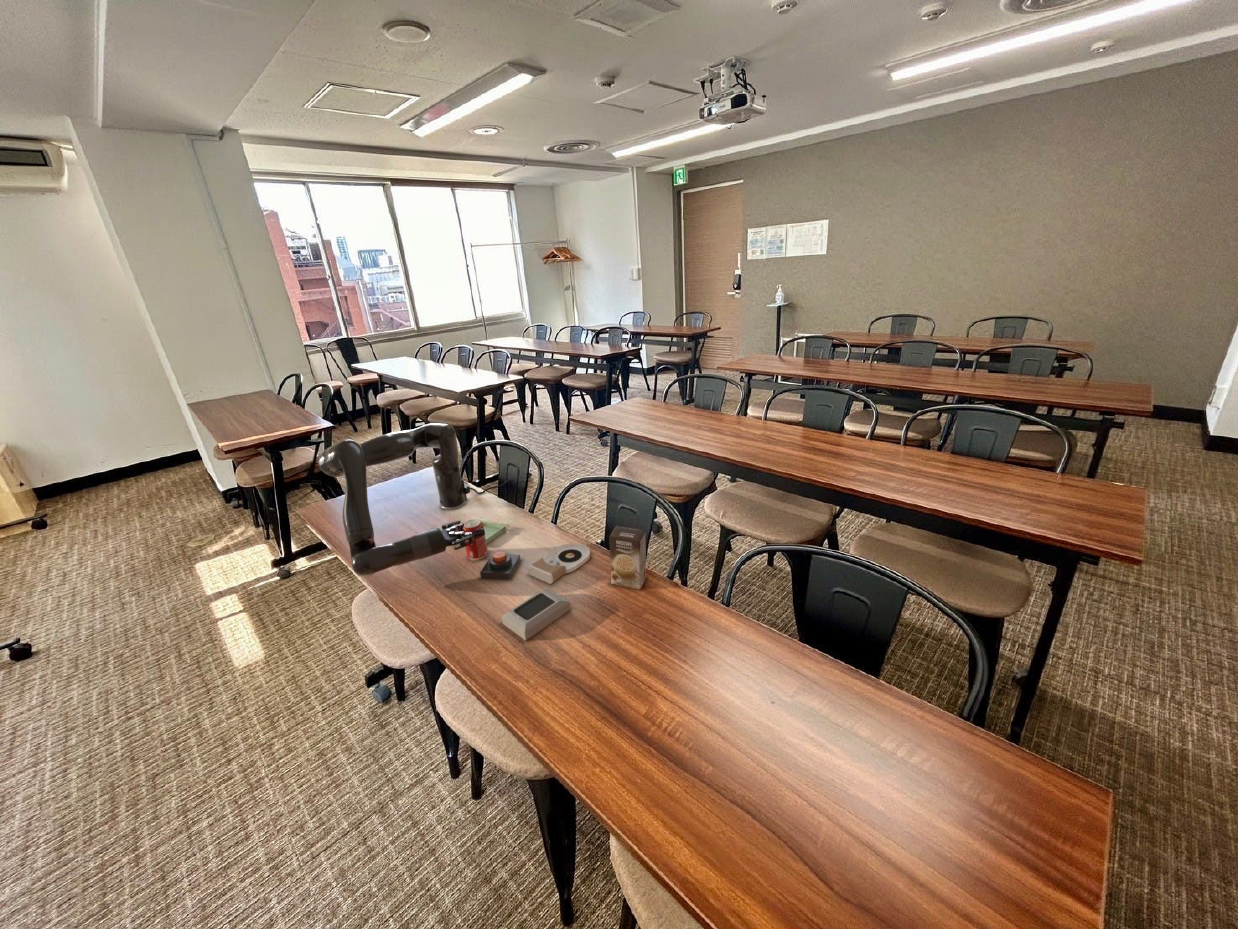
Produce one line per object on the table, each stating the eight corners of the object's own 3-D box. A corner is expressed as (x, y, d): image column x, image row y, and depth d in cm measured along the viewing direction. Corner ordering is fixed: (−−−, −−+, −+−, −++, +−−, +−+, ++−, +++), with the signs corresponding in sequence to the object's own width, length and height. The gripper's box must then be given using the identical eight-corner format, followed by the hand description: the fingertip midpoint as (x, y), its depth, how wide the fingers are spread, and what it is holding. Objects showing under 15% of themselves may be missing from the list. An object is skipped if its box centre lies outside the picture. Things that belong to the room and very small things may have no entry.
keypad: (569, 598, 127) (523, 629, 117) (570, 609, 128) (525, 640, 118) (545, 584, 133) (500, 612, 123) (547, 595, 134) (502, 623, 124)
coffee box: (610, 584, 138) (607, 536, 131) (617, 571, 143) (615, 524, 137) (641, 589, 135) (639, 540, 129) (647, 576, 140) (646, 529, 134)
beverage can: (470, 551, 157) (464, 519, 152) (489, 549, 157) (484, 517, 153) (465, 562, 151) (459, 529, 147) (486, 560, 152) (480, 527, 147)
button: (496, 556, 147) (495, 551, 147) (507, 556, 147) (506, 551, 146) (492, 562, 144) (491, 557, 143) (503, 563, 144) (502, 558, 143)
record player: (525, 564, 143) (569, 535, 158) (526, 573, 144) (569, 543, 159) (553, 577, 137) (597, 545, 152) (554, 586, 138) (597, 554, 153)
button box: (493, 559, 152) (491, 548, 150) (520, 560, 151) (519, 549, 149) (481, 578, 143) (479, 567, 141) (510, 579, 142) (508, 568, 140)
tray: (477, 522, 175) (477, 518, 174) (506, 530, 169) (505, 526, 168) (450, 540, 164) (450, 536, 163) (480, 548, 158) (479, 544, 158)
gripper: (430, 543, 136) (486, 525, 145) (418, 524, 147) (471, 508, 156) (435, 565, 139) (490, 546, 148) (422, 544, 150) (474, 528, 159)
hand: (480, 527), depth 152 cm, fingers closed on beverage can, 6 cm apart
